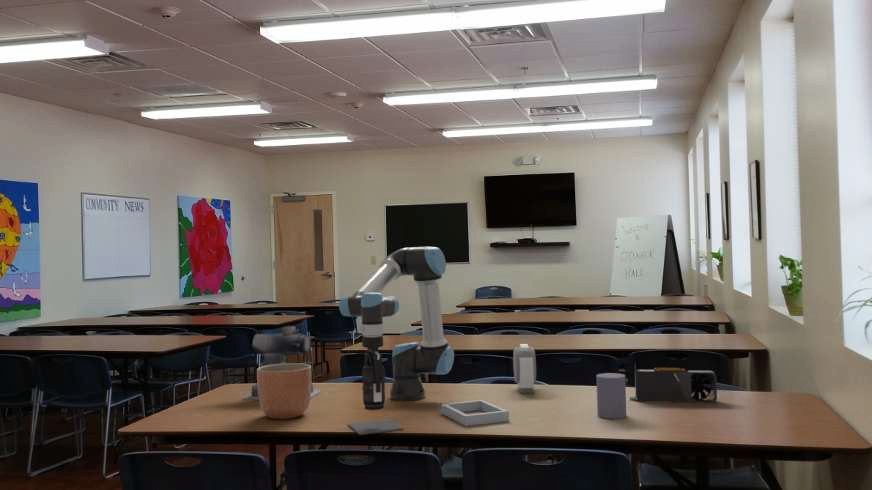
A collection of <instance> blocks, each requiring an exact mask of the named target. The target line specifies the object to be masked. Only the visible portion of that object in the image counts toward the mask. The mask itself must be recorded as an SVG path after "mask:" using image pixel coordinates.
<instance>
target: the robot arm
mask: <svg viewBox="0 0 872 490" xmlns="http://www.w3.org/2000/svg"><path fill="white" fill-rule="evenodd" d="M446 263H447V262H446V258H445V255H444V253H443V251H442V250H441V248H439V247H436V246H417V247H416V246H414V247H404V248H403V247H402V248H400V249H397V250H395V251H393V252H392V253H390V254H389V255H388V256H386V257H385V258H384V259H383V260H382V261H381V263H380V264H379V267H378V269H377V270H376V271H374V273H373V274H372V275H371V276H370V277H369V278H368V279H367V280H366V281H365V282H364V283H363V284H362V285H361V286H360V287H359V288H358V289H357V290H356V292H354V293H353V294H352V296H350V295H349V296H343V297H342V298H341V299H340V301H339V305H338V306H339V307H338V309H339V312H340V314H341V315H342V316H343V317H351V318H352V317H356V318H357V317H360V318H361V327H360V330H361V335H362V338H361V340H362V341H361V345H362V347H363V348H365V349H364V366H372V369H373V376H374V382H372V383H373V390H374V402H380V401H382V391H381V383H382V382H383V370H382V366H383V361H382V360H383V358H382V357H383V354H382V353H381V352H380V350H379V348H382V347H384V337H383V335H384V323H383V320H384V318H387V317H388V318H389V317H392V316H393V315H396V314H397V313H398V312H399V309H400V303H399V300H398V298H396V297H395V296H392V295H384V296H383V295H382V293H383V292H384V291H385V290H386V288H388V286H389V285H390V284H391V283H392V282H393V281H395V280H398V279H400V277H402V276H413V281H414V282H415V283H416V284H417V285H418V286H417V287H418V288H417V289H418V298H419V299H418V301H419V308H420V318H421V319H420V320H421V329H422V330H421V331H422V338H423V339H422V340H421V342H419V341H413V342H407V343H400V344H396V345H394V346H393V347H392V354H391V358H392V377H393V380H392V384H391V387H390V391H389V399H391V400H394V401H417V400H421V399H423V398H425V397H426V391H425V388H424V385H423V383H422V380H421V374H423V375H425V374H427V375H438V376H439V375H447V374H448V373H449V372H450V371H451V370H452V367H453V365H454V360H455V351H454V349H453V346H449V344H448V343H449V342H448V340H447V339H446V338H445V337H444V327H443V317H442V315H443V314H442V308H441V307H442V306H441V297H440V295H441V293H440V287H439V285H440V284H439V282H440V281H441V280H442V278H443V277H442V275H444V274H445V273H446V267H447V264H446Z"/></svg>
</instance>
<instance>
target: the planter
mask: <svg viewBox="0 0 872 490" xmlns="http://www.w3.org/2000/svg"><path fill="white" fill-rule="evenodd" d="M311 381H312V365H311V364H308V363H297V362H296V363H293V362H292V363H291V362H290V363H288V362H287V363H286V362H285V364H274V365H267V366H263V367H262V366H259V367H258V368H256V382H257V383H256V384H258V395H259V400H258V402H259V405H260V409H261V411H262V413H263V414H264V415H265V416H267V418H270V419H275V420H289V419H294V418H298V417H301V416H302V415H304V414H305V413H306V411H307V410H308V409H309V406H310V402H311V399H310V396H311Z"/></svg>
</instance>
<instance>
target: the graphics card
mask: <svg viewBox="0 0 872 490" xmlns="http://www.w3.org/2000/svg"><path fill="white" fill-rule="evenodd" d="M634 386H635V387H634V389H635V390H634V391H635V393H634V394H635V396H633V397H629V401H633V400H637V401H639V402H646V401H669V402H668V403H693V402H698V403H700V404H701V403H702V404H703V403H704V404H705V403H706V404H715V403H716V402H717V401H718V395H717V394H718V392H717V391H718V388H717V374H715V372H714V371H713V370H687V371H686V369H685V368H681V367H653V369H637V367H636V363H634ZM670 401H671V402H670Z"/></svg>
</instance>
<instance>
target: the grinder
mask: <svg viewBox="0 0 872 490" xmlns="http://www.w3.org/2000/svg"><path fill="white" fill-rule="evenodd" d="M280 330H281V333H256V334H255V335H254V337H253V339H252V344H251V346H252V350H253V352H254V353H255V354H257V355H259V354H260V355H264V357H263V362H262V366H261V367H263V366H267V365H274V364H286V360H285V355H293V356H294V357H298V355H302V354H303V353H307V352H308V351H309V350H310V347H311V341H310V340H311V339H310V338H309V336H308V335H305V334H303V333H299V332H300V331H299V328H297V329H296V326H289V325H288V326H284V327H282V328H281V329H280ZM313 386H314V385H313V381H312V380H311V396H310V400H311V399H313V398H315V397H316V396H318V395H320V394H321V393H323V389H314V387H313ZM241 400H242V401H243V400H245V401H247V400H248V401H249V400H250V401H251V400H252V401H253V400H254V401H255V400H257V401H259V395H258V384H257V383H256V384H254V385H252V386H251V393H249V394H247V395H244V396H243V397H242V398H241Z"/></svg>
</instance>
